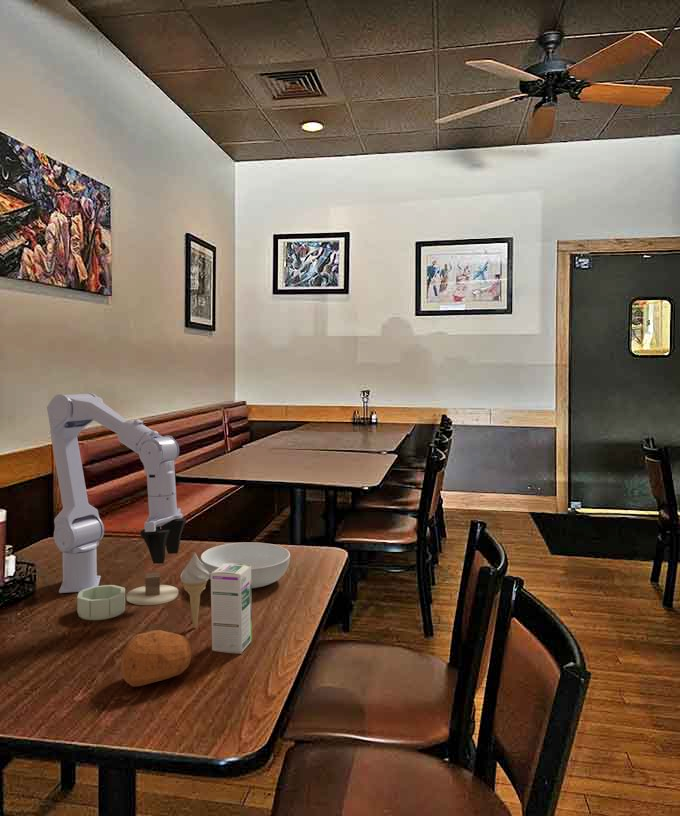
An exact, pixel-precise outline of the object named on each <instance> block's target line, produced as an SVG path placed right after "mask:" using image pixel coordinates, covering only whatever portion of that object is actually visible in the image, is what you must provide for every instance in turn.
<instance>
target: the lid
mask: <svg viewBox="0 0 680 816" xmlns="http://www.w3.org/2000/svg"><path fill="white" fill-rule="evenodd" d="M160 573H161V572H152V573H151V572H148V573H145V577H144V578H145V579H144V581H145V585H143V586H139V587H136V588H135V587H134V588H133V589H131V590H129V591H128V592H127V593H126V594H125V600H126V601H127V602H128V603H130V604H133V605H138V606H156V605H161V604H166V603H169V602H171V601H174V600H175V599H177V598H178V597H179V589H178V588H177V587H176V586H172V585H169V584H161V581H160V577H161V576H160V575H161V574H160Z"/></svg>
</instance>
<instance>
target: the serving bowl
mask: <svg viewBox="0 0 680 816" xmlns="http://www.w3.org/2000/svg"><path fill="white" fill-rule="evenodd" d="M290 560H291V553H290V551H289V550H288V549H286V548H285V547H283V546H280V545H276V544H273V543H267V542H266V543H265V542H252V541H251V542H246V541H245V542H244V541H243V542H242V541H241V542H233V543H226V544H225V543H223V544H221V545H216V546H212V547H211V548H208V549H206V550H204V552H202V553H201V555H200V562H201V563H202V564H203V565H204V567H205V570H207V571H208V572H209V574H210V575H209V576H208V577H209V579H208V580H210V581H211V573H212V572H213V571H215V570H216V569H217V568H219V567H220V566H221V565H222V564H223V563H225V564H227V563H237V564H246V565H250V566H251V589H257V588H261V587H265V586H268V585H272V584H273V583H275V582H277V581H278V580H279V579H281V578H282V577H283V576H284V575H285V573H286V572H287V570H288V568H289V565H290Z"/></svg>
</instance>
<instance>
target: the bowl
mask: <svg viewBox="0 0 680 816" xmlns="http://www.w3.org/2000/svg"><path fill="white" fill-rule="evenodd" d="M77 593H78V594H77V596H76V607H77V608H76V609H77V610H76V611H77V612H76V613H77V614H78V617H79V618H80V619H83V620H86V621H103V620H109V619H112V618H115V617H119V616H120V615H122V614H124V612H125V611H126V588H125V587H123V586H120V585H115V584H104V585H98V586H95V587H94V586H93V587H90V588H87V589H85V590H82V591H80V592H77Z"/></svg>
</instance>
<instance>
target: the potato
mask: <svg viewBox="0 0 680 816" xmlns="http://www.w3.org/2000/svg"><path fill="white" fill-rule="evenodd" d="M122 651H123V652H122V655H121V658H120V665H121V666H120V668H121V675H122V679H123V681H125V682H126V683H127V684H128V685H129V686H131V687H142V686H146V685H150V684H152V683H156V682H160V681H164V680H167V679H171V678H173V677H176V676H179V675H181V674H183V673H184V672H185V671H186V669H188V668H189V665H190V663H191V660H192V654H193V647H192V644H191V643H190V641H189V639H188V638H187V637H185V636H183V635H181V634H180V633H179V634H178V633H174V632H170V631H165V630H161V629H155V630H150V631H146V632H141V633H138V634H135V635H134V636H133V637H131V639H130V640H129V641H128V642H127V644H126V646H124V649H123V650H122Z"/></svg>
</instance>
